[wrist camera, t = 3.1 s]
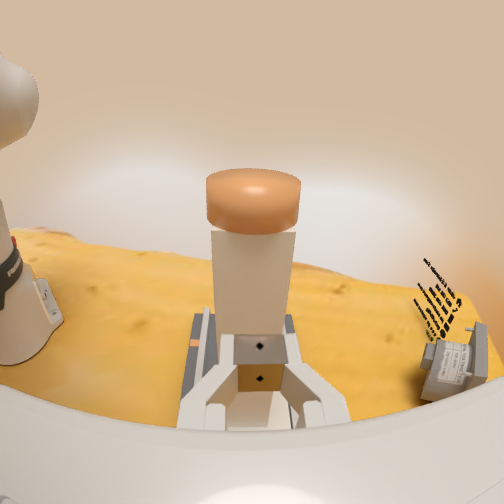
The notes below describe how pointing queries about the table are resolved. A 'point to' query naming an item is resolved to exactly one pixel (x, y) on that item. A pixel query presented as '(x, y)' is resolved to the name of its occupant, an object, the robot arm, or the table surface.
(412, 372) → the table surface
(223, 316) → the slider handle
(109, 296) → the table surface
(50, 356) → the table surface
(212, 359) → the slider track
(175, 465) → the robot arm
